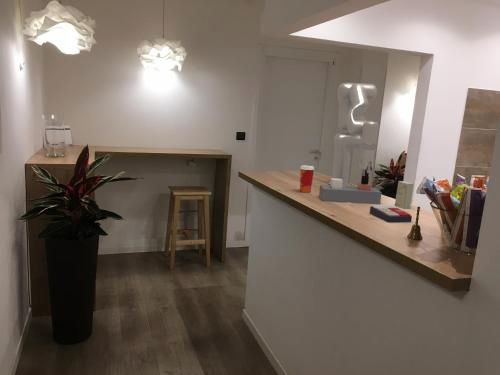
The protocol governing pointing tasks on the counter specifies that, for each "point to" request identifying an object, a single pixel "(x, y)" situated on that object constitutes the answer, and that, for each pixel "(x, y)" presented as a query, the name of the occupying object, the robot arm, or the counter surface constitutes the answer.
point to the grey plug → (336, 183)
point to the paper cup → (306, 178)
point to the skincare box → (404, 194)
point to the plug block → (349, 195)
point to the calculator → (390, 214)
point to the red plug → (364, 186)
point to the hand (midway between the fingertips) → (364, 183)
